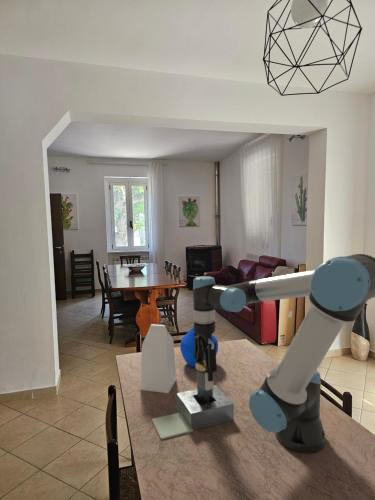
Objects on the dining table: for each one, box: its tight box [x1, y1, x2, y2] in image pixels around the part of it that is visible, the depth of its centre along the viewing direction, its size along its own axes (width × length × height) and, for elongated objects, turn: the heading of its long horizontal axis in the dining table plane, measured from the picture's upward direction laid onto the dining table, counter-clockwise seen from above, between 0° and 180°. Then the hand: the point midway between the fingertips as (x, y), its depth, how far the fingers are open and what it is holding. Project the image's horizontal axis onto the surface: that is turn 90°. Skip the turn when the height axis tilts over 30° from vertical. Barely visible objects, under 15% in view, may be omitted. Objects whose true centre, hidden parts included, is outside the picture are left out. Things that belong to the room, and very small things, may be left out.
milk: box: [140, 323, 177, 394], centre depth 139 cm, size 12×12×26 cm
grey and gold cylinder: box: [195, 361, 213, 405], centre depth 117 cm, size 7×7×14 cm
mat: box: [151, 411, 194, 441], centre depth 112 cm, size 11×11×1 cm
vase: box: [179, 325, 219, 369], centre depth 159 cm, size 18×18×30 cm
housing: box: [176, 384, 235, 431], centre depth 118 cm, size 14×16×6 cm
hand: (205, 384), depth 117 cm, fingers closed on grey and gold cylinder, 7 cm apart
